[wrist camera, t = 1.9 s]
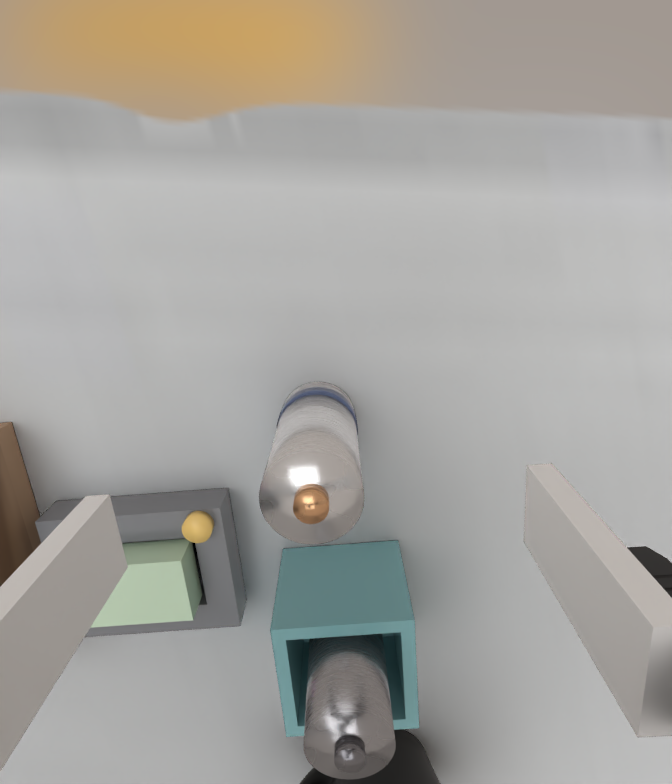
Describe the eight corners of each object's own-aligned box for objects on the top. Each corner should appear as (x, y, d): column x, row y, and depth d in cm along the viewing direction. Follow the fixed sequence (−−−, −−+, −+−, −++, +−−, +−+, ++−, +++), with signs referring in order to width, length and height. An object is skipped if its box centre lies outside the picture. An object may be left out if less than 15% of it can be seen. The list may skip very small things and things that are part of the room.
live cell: (285, 453, 25) (262, 559, 17) (276, 383, 24) (248, 462, 16) (358, 447, 25) (370, 552, 17) (353, 377, 24) (362, 453, 16)
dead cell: (315, 631, 28) (307, 798, 20) (308, 576, 27) (297, 729, 19) (380, 626, 28) (399, 792, 20) (376, 572, 27) (395, 723, 19)
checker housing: (87, 610, 28) (64, 647, 26) (56, 501, 26) (27, 529, 24) (246, 599, 28) (238, 634, 26) (228, 487, 26) (217, 515, 24)
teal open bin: (295, 640, 29) (286, 736, 24) (283, 548, 27) (270, 630, 22) (402, 632, 29) (419, 728, 23) (397, 540, 27) (414, 619, 22)
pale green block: (99, 602, 26) (83, 628, 25) (84, 546, 25) (66, 569, 24) (202, 594, 26) (193, 620, 24) (191, 538, 25) (180, 561, 23)
